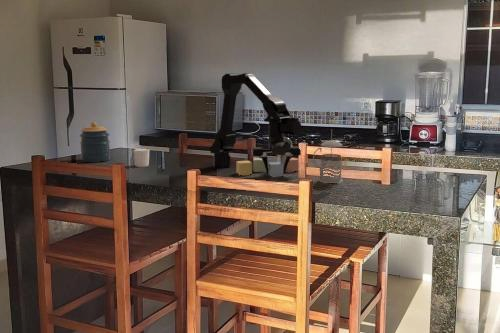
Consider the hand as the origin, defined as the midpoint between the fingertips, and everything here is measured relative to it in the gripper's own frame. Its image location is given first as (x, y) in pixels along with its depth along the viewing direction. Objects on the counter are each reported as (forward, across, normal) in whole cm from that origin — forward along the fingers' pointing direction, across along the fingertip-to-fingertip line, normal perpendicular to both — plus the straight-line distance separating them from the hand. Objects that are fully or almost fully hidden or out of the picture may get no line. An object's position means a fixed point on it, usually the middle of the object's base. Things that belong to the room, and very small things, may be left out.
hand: (275, 173), depth 219 cm
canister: (+1, -76, +45) cm, 88 cm away
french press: (+1, +18, -12) cm, 22 cm away
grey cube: (+1, 0, 0) cm, 1 cm away
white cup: (+1, -54, +29) cm, 61 cm away
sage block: (+1, -5, +11) cm, 12 cm away
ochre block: (+1, -12, +5) cm, 13 cm away
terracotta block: (+1, +8, +9) cm, 12 cm away
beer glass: (-1, +7, +20) cm, 21 cm away
